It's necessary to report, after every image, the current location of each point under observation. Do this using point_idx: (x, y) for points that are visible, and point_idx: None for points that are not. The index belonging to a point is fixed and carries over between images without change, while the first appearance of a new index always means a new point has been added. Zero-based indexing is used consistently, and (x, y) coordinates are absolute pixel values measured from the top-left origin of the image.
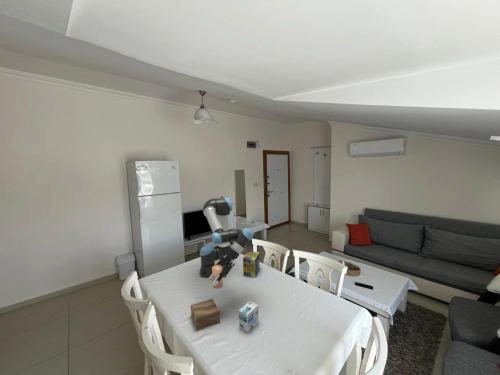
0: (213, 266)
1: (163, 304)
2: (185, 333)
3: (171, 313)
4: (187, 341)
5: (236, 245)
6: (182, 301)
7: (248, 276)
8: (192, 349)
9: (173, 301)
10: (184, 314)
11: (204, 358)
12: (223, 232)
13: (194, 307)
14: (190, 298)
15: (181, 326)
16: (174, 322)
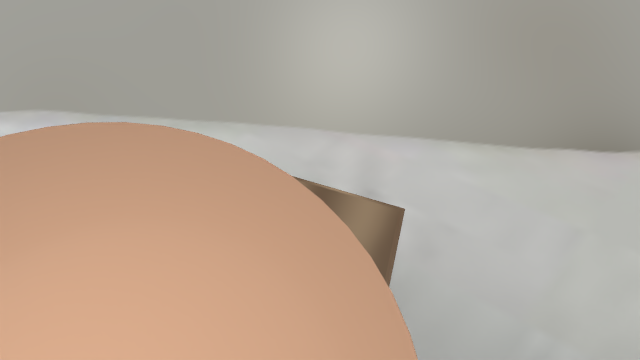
0: (376, 326)
1: (618, 169)
2: (256, 144)
3: (490, 165)
4: (191, 125)
5: None
6: (591, 277)
7: None
8: (119, 117)
9: (624, 229)
10: (427, 217)
11: (10, 127)
12: None
13: (350, 211)
14: (603, 349)
15: (329, 154)
16: (393, 143)
